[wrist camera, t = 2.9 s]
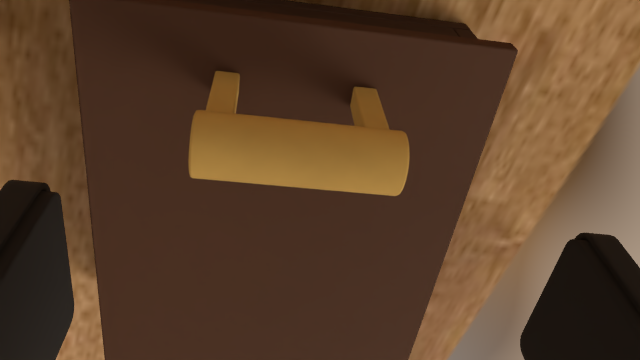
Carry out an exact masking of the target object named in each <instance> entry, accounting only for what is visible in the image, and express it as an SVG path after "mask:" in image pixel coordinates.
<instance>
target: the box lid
mask: <svg viewBox="0 0 640 360" xmlns="http://www.w3.org/2000/svg"><path fill="white" fill-rule="evenodd" d="M69 4H70V14H71V24H72V34H73V44H74V54H75V64H76V74H77V84H78V94H79V104H80V114H81V124H82V134H83V144H84V154H85V164H86V174H87V184H88V194H89V204H90V214H91V224H92V234H93V244H94V254H95V264H96V274H97V284H98V294H99V305H100V315H101V325H102V335H103V345H104V355H105V360H408V359H409V356H410V353H411V351H412V348H413V345H414V342H415V339H416V337H417V334H418V331H419V328H420V325H421V322H422V320H423V317H424V314H425V311H426V308H427V306H428V303H429V300H430V297H431V294H432V291H433V289H434V286H435V283H436V280H437V277H438V275H439V272H440V269H441V266H442V263H443V261H444V258H445V255H446V252H447V249H448V246H449V244H450V241H451V238H452V235H453V232H454V230H455V227H456V224H457V221H458V218H459V215H460V213H461V210H462V207H463V204H464V201H465V199H466V196H467V193H468V190H469V187H470V185H471V182H472V179H473V176H474V173H475V170H476V168H477V165H478V162H479V159H480V156H481V154H482V151H483V148H484V145H485V142H486V139H487V137H488V134H489V131H490V128H491V125H492V123H493V120H494V117H495V114H496V111H497V108H498V106H499V103H500V100H501V97H502V94H503V92H504V89H505V86H506V83H507V80H508V78H509V75H510V72H511V69H512V66H513V63H514V61H515V58H516V55H517V52H518V50H517V49H516V48H515V47H514V46H513V45H512V44H511V43H504V42H496V41H488V40H480V39H473V38H465V37H457V36H449V35H441V34H433V33H425V32H418V31H410V30H402V29H394V28H386V27H378V26H371V25H363V24H355V23H347V22H339V21H331V20H324V19H316V18H308V17H300V16H292V15H284V14H277V13H269V12H261V11H253V10H245V9H237V8H230V7H222V6H214V5H206V4H198V3H190V2H183V1H175V0H69Z"/></svg>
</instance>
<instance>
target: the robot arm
mask: <svg viewBox="0 0 640 360" xmlns="http://www.w3.org/2000/svg"><path fill="white" fill-rule="evenodd" d="M73 313H74V298H73V290H72V283H71V275H70V267H69V259H68V251H67V243H66V235H65V228H64V220H63V212H62V204H61V198H60V195H59V193H57V192H50V188H49V186H48V184H46V183H40V182H29V181H19V180H10V181H8V182H7V183H6V184H5V185H4V186H3V188H2V189H1V190H0V360H55V359H56V357H57V355H58V352H59V350H60V348H61V346H62V343H63V341H64V339H65V336H66V334H67V332H68V329H69V327H70V324H71V322H72V318H73ZM520 347H521V352H522V354H523V357H524V359H525V360H640V268H639V267H638V265H637V264H636V263H635V261H634V260H633V259H632V257H631V256H630V255H629V254H628V252H627V251H626V250H625V248H624V247H623V246H622V244H621V243H620V242H619V240H618V239H616V238H615V237H614V236H611V235H604V234H603V235H602V234H593V233H580V234H579V235H578V236H576V238H575V239H572V240H570V241H568V242H567V244H566V245H565V248H564V250H563V252H562V254H561V256H560V258H559V260H558V262H557V264H556V266H555V268H554V270H553V272H552V274H551V276H550V278H549V280H548V282H547V284H546V286H545V288H544V290H543V292H542V294H541V296H540V298H539V300H538V302H537V304H536V306H535V308H534V310H533V312H532V314H531V316H530V318H529V320H528V322H527V324H526V326H525V328H524V330H523V332H522V335H521V339H520Z"/></svg>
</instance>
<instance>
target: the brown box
mask: <svg viewBox="0 0 640 360" xmlns="http://www.w3.org/2000/svg"><path fill="white" fill-rule="evenodd" d="M175 1H183V2H190V3H198V4H206V5H214V6H222V7H230V8H237V9H245V10H253V11H261V12H269V13H277V14H284V15H292V16H300V17H308V18H316V19H324V20H331V21H339V22H347V23H355V24H363V25H371V26H378V27H386V28H394V29H402V30H410V31H418V32H425V33H433V34H441V35H449V36H457V37H465V38H473V39H477V38H476V36H475V35H474V34H473V33H472V31H471V30H470V29H469V27H468V26H467V25H466V24H462V23H454V22H447V21H439V20H431V19H424V18H416V17H409V16H401V15H393V14H386V13H378V12H370V11H363V10H355V9H347V8H340V7H332V6H324V5H317V4H309V3H302V2H294V1H286V0H175Z"/></svg>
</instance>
